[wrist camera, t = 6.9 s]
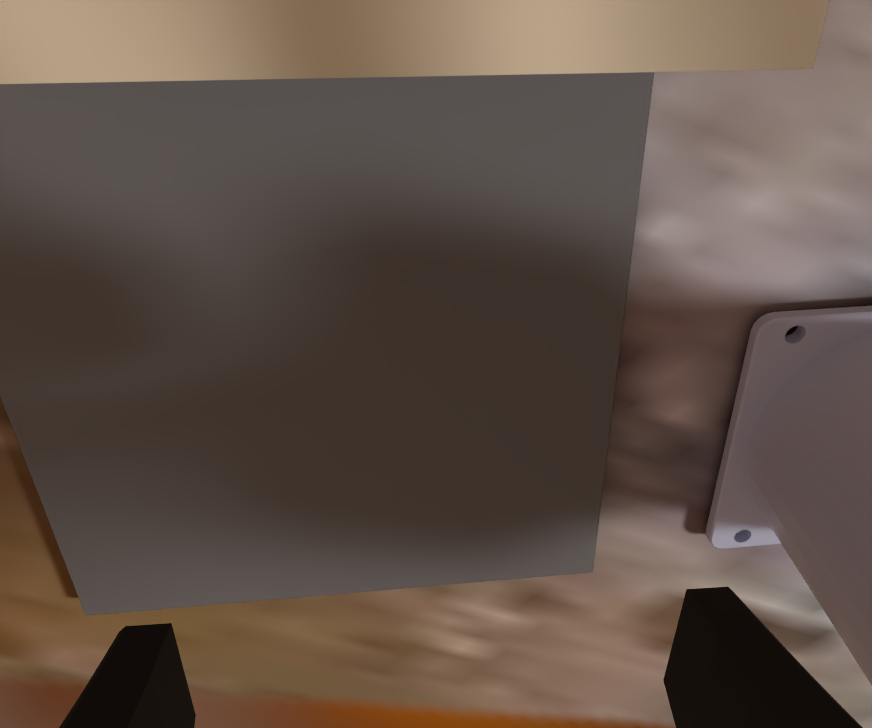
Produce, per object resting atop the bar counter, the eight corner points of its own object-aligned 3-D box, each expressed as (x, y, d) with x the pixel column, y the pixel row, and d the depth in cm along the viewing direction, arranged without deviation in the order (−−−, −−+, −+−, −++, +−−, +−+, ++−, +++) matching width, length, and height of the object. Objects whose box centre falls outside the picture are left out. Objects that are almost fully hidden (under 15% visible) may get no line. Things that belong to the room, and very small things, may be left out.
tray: (647, 41, 16) (657, 46, 16) (587, 557, 24) (592, 572, 24) (-109, 71, 15) (-125, 79, 15) (91, 599, 23) (85, 615, 23)
